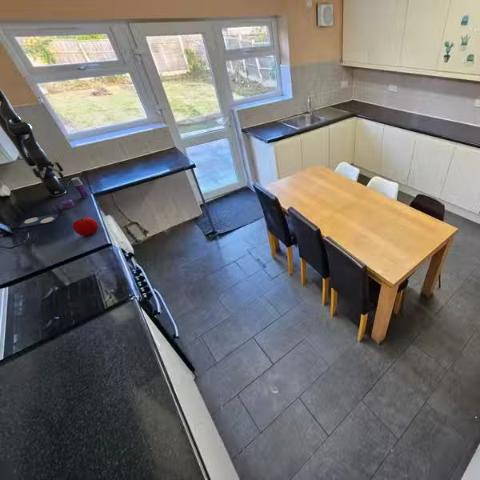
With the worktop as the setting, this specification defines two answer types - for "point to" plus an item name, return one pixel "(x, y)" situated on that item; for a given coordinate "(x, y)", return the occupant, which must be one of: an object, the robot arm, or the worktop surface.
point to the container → (80, 187)
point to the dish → (68, 204)
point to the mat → (38, 220)
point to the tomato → (85, 226)
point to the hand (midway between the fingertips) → (54, 180)
